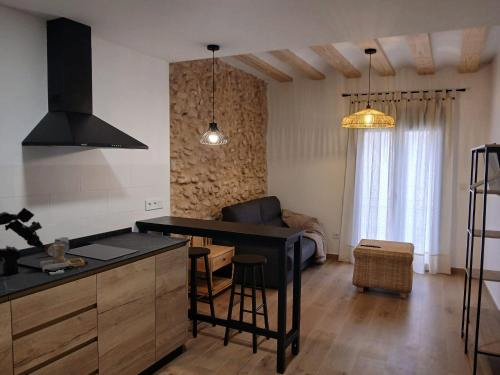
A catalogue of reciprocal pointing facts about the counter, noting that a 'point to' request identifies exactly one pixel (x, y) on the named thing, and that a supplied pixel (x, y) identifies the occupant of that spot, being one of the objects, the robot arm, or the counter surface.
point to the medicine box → (62, 239)
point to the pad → (56, 272)
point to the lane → (51, 265)
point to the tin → (50, 247)
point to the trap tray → (76, 263)
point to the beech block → (58, 253)
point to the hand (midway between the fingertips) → (43, 246)
